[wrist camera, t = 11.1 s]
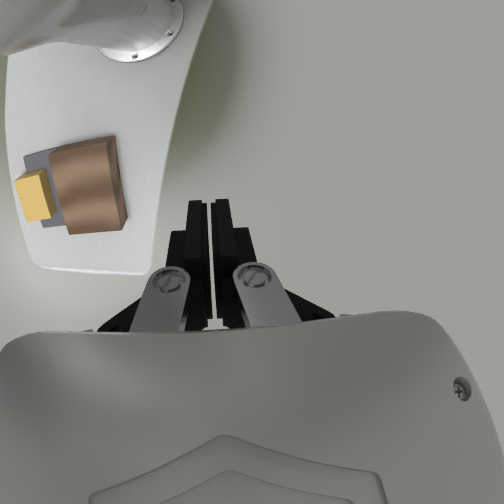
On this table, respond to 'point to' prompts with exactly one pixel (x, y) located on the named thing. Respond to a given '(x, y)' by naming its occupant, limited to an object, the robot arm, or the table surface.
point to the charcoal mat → (42, 162)
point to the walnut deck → (89, 186)
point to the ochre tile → (35, 196)
